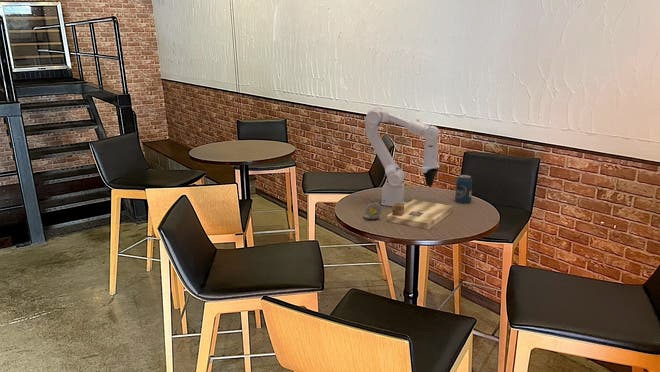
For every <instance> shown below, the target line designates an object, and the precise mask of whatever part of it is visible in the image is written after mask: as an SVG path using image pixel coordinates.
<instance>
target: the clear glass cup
mask: <svg viewBox="0 0 660 372" xmlns="http://www.w3.org/2000/svg"><path fill="white" fill-rule="evenodd" d="M377 200H378V197H376V196H373V197H370V201H372V202H370V203H368V204H367V206H366V207H365V213H364V214H363V218H364V219H367V220H377V219H379V218H380V216H381V214H382V211H383V209H382V208H383V207H382V206H381V203H378V202H376V201H377Z"/></svg>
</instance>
